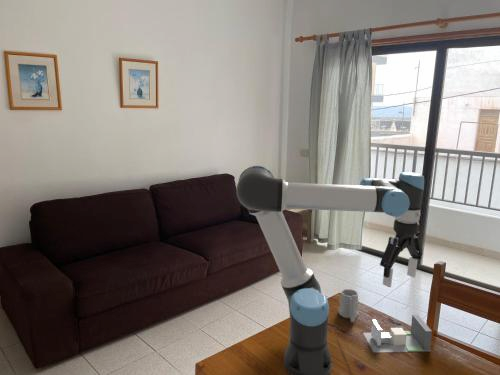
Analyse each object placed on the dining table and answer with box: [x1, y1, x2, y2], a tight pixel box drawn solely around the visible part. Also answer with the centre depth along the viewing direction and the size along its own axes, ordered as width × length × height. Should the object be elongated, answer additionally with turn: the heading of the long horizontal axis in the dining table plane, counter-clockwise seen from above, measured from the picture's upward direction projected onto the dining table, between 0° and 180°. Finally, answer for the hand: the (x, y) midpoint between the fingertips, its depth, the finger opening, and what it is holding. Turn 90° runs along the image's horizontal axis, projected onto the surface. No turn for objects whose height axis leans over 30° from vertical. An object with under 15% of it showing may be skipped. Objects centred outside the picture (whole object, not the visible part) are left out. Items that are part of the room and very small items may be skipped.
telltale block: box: [389, 327, 407, 345], centre depth 131 cm, size 4×4×4 cm
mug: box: [337, 288, 360, 323], centre depth 147 cm, size 8×12×12 cm, turn 179°
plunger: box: [370, 319, 391, 346], centre depth 131 cm, size 5×6×6 cm
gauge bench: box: [362, 314, 433, 353], centre depth 131 cm, size 19×11×8 cm, turn 92°
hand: (399, 280), depth 129 cm, fingers open, 13 cm apart
